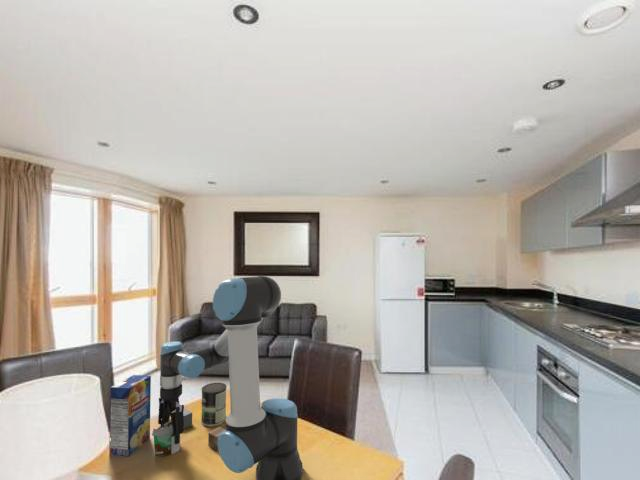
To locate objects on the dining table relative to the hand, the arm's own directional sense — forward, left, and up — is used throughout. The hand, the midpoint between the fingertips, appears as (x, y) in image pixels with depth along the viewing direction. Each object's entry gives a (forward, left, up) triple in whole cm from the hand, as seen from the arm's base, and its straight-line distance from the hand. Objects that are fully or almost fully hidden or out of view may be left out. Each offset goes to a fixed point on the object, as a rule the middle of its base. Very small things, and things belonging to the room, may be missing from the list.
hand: (170, 448), depth 120 cm
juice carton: (+14, +8, 0) cm, 16 cm away
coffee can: (+5, -22, 0) cm, 23 cm away
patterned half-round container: (-1, 0, 0) cm, 1 cm away
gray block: (+12, -12, 0) cm, 17 cm away
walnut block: (-12, -12, 0) cm, 17 cm away
